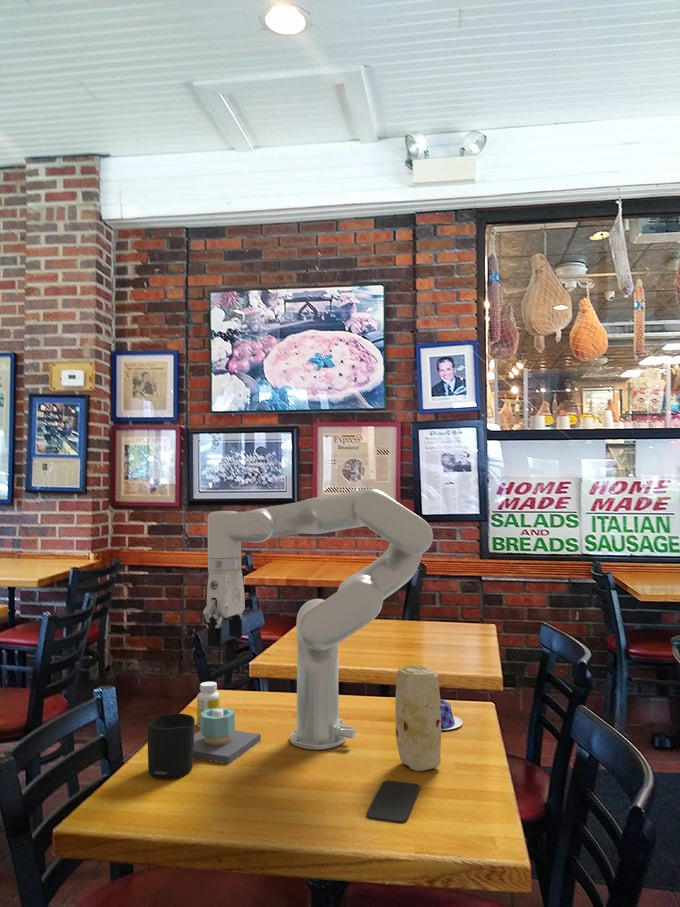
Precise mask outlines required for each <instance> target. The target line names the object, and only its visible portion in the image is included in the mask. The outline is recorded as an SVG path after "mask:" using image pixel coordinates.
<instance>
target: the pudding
mask: <svg viewBox="0 0 680 907" xmlns="http://www.w3.org/2000/svg"><path fill="white" fill-rule="evenodd" d="M440 702H441V731H448V730H453V729H457V728H460V727H461V726H462V725H463V720H462V719H461V718H460V717H458V716H455V715H453V711H452V710H453V709H452V706H451V704H450V703H449V702H448V701H447V700H444V699H440Z"/></svg>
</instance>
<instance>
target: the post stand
mask: <svg viewBox="0 0 680 907" xmlns="http://www.w3.org/2000/svg"><path fill="white" fill-rule="evenodd" d="M219 716H223V710H222V709H215V710H213V711H212V717H219ZM261 737H262V736H261V733H255V732H248V731H243V730H242V731H241V730H236V729H235V731H234V732H233V733H231V734H230V735H228V736H223V737H216V738H214V737H207V736H203V735H202V733H201V732H200V730H199V731H198V732H196V733H194V749H193V759H195V758H196V759H195V760H201V759H204V760H203V761H207V760H212V761H211V762H213V761H217V762H216V763H219V762H223V763H222V764H225V763H227V764H226V765H230V764H231V763H232V762H233V760H234V761H235V760H236V759H238V758H240V757H242V755H243V754H245V753H246V752H248V750H250V749H252V748H253V747H254V746H256V745H257V744H258V743H260V742H261V739H262V738H261ZM229 763H230V764H229Z"/></svg>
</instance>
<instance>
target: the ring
mask: <svg viewBox="0 0 680 907" xmlns="http://www.w3.org/2000/svg"><path fill="white" fill-rule="evenodd" d="M215 709H222V710H223V716H219V717H212V711H213V710H215ZM235 717H236V712H234V711H233V709H232V708H227V707H226V708H225V707H220V708H214V709H207V710H205V711H204V712H202V713H201V719H200V727H199V729H200V730H199V731H200V732H201V733H202V735H203V736H207V737H214V738H216V737H223V736H228V735H230V734H231V733H233V732H234V731H235V730H236V728H235V727H236V724H235V723H236V721H235V719H236V718H235Z"/></svg>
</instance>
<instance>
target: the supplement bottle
mask: <svg viewBox="0 0 680 907" xmlns="http://www.w3.org/2000/svg"><path fill="white" fill-rule="evenodd" d="M217 685H218V684H217V682H215V681H204V682H201V683H200V686H199V690H200V692H198V693H197V697H196V725H197V727H198V728H200V719H201V713H202V712H204V711H205V710H207V709H214V708H221V706H220V705H221V704H220V702H221V701H220V693H219V692H218V691H217V689H218V688H217V687H218V686H217Z"/></svg>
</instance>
